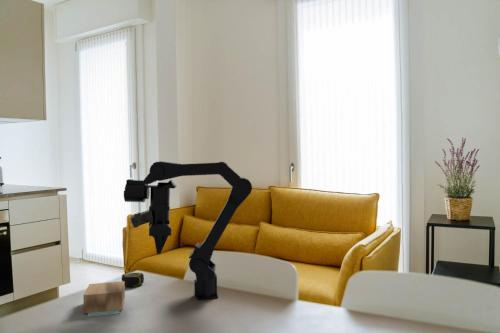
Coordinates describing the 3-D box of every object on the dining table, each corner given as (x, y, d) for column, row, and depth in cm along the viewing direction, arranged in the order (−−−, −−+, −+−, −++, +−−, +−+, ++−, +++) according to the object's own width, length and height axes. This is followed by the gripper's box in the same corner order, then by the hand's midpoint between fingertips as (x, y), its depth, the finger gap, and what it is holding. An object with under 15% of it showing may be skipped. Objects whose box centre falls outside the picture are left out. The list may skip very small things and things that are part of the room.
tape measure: (142, 281, 140) (141, 270, 140) (145, 286, 134) (145, 275, 134) (121, 284, 138) (121, 273, 138) (124, 289, 131) (123, 278, 131)
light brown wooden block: (124, 281, 123) (89, 284, 120) (121, 291, 113) (83, 295, 111) (124, 297, 123) (89, 300, 121) (122, 309, 113) (83, 313, 111)
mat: (123, 296, 125) (123, 295, 125) (118, 313, 111) (118, 312, 111) (95, 298, 123) (95, 297, 123) (87, 316, 109) (87, 315, 109)
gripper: (133, 199, 130) (132, 247, 130) (131, 206, 112) (129, 262, 112) (168, 199, 133) (167, 246, 133) (172, 206, 115) (170, 261, 115)
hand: (158, 253), depth 123 cm, fingers closed
